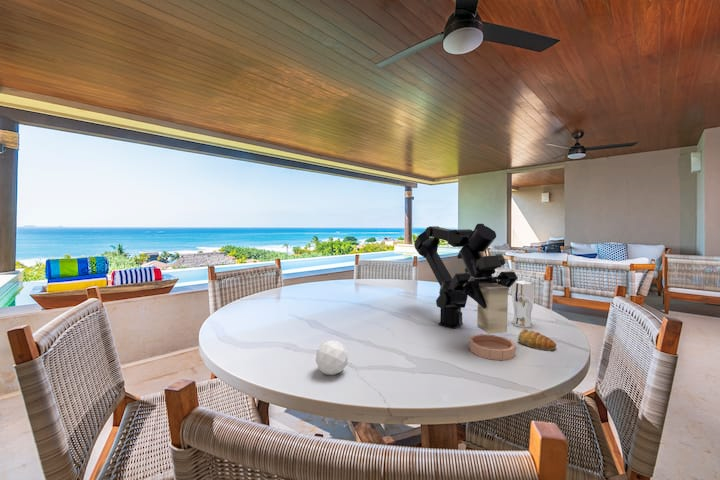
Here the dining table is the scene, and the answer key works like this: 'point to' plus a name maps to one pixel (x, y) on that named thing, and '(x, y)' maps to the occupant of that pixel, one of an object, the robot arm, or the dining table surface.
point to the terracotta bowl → (492, 347)
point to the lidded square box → (493, 308)
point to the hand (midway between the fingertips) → (495, 307)
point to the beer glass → (522, 303)
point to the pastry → (536, 340)
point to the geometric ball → (331, 357)
